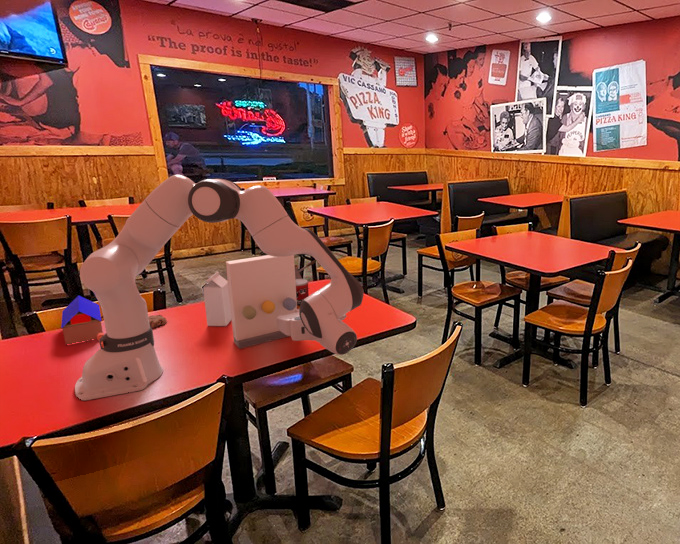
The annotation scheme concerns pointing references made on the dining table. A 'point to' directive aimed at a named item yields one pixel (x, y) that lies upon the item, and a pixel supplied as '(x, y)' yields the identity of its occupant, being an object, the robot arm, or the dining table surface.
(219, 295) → the milk carton
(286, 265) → the button panel
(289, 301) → the slate button
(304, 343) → the dining table surface
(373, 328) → the dining table surface
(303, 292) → the canned food
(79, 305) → the house
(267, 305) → the amber button
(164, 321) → the cookie
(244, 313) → the olive button
